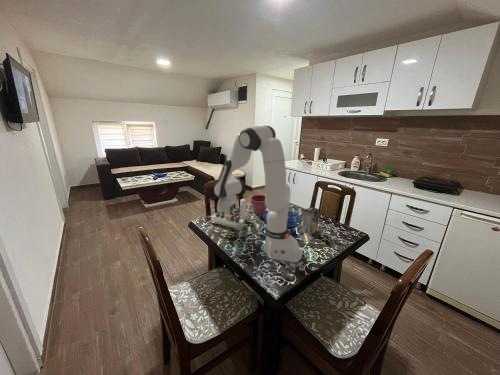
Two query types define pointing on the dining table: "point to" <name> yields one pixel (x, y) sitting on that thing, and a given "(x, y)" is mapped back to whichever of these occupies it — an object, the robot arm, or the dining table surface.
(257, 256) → the dining table surface
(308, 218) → the coffee box
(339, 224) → the dining table surface
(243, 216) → the cord post near
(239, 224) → the grey tube rack
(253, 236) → the dining table surface
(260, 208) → the plant pot
